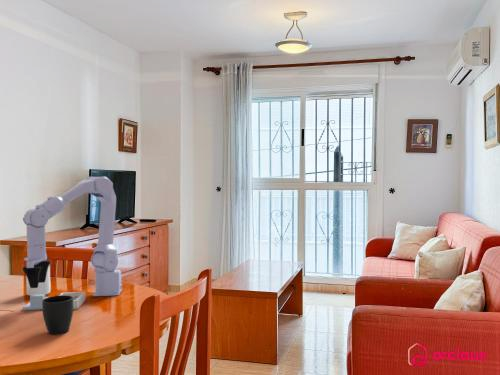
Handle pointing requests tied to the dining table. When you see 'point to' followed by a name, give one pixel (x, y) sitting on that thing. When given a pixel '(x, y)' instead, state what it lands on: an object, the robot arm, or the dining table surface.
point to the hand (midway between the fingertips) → (37, 285)
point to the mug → (57, 313)
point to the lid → (35, 302)
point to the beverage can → (40, 286)
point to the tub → (76, 298)
